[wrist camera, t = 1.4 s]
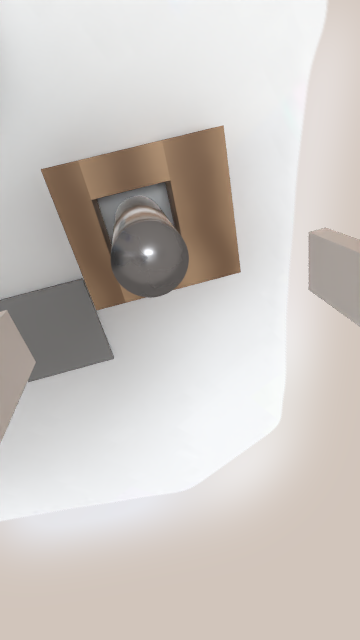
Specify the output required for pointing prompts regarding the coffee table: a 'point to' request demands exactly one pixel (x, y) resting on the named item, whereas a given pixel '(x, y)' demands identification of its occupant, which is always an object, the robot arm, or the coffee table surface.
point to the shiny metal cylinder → (147, 249)
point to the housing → (184, 197)
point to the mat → (59, 328)
